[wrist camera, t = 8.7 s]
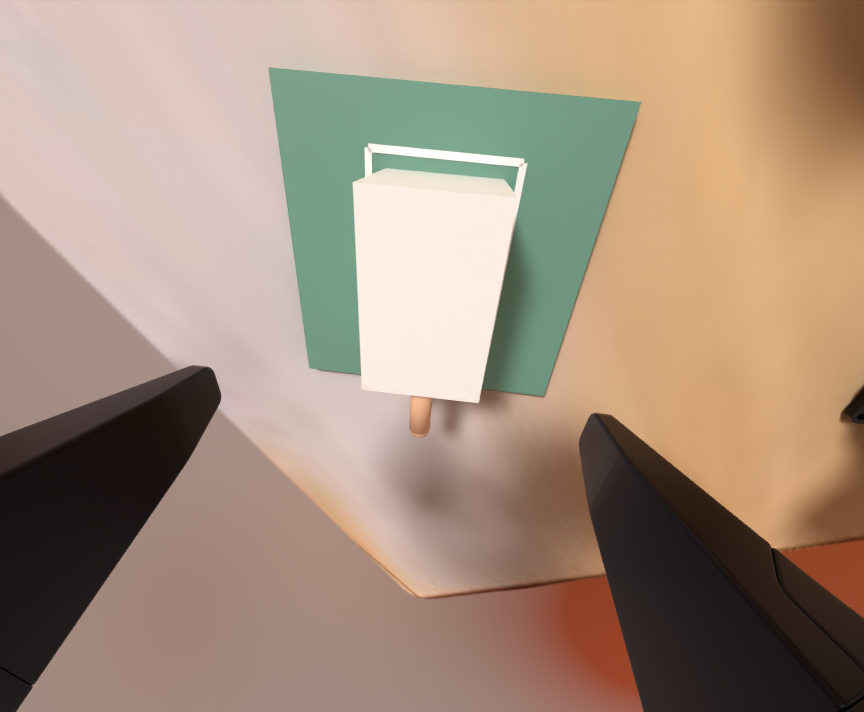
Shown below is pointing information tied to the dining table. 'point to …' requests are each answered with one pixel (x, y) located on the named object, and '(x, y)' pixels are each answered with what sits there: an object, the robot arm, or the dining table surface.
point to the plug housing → (429, 282)
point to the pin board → (459, 155)
